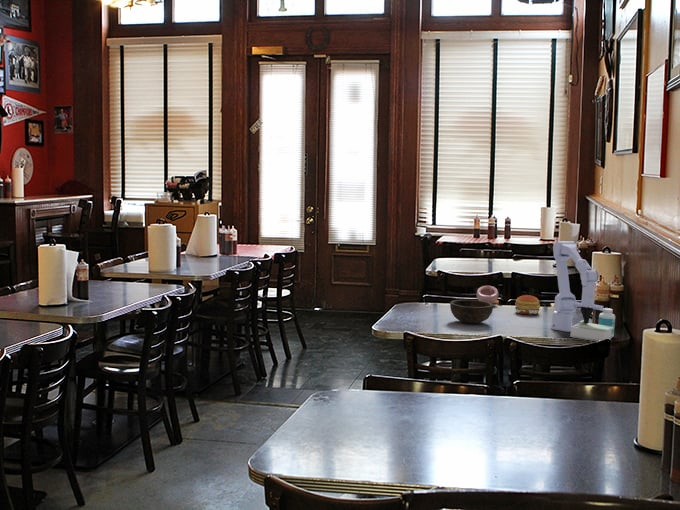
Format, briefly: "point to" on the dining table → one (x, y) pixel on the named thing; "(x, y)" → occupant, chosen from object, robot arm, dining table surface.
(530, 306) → the burger
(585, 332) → the housing
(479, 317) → the bowl
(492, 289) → the pink round pot
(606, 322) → the pill bottle
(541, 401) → the dining table surface
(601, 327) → the lid
